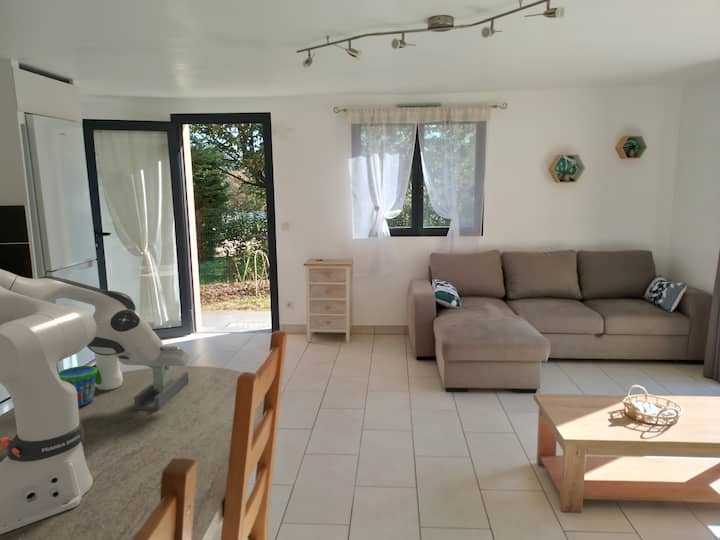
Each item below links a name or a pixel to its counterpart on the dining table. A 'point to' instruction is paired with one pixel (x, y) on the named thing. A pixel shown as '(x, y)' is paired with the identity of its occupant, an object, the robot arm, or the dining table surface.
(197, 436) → the dining table surface
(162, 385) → the door panel
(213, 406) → the dining table surface
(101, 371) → the bottle
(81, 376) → the snack cup
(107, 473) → the dining table surface
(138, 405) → the track
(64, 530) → the dining table surface
